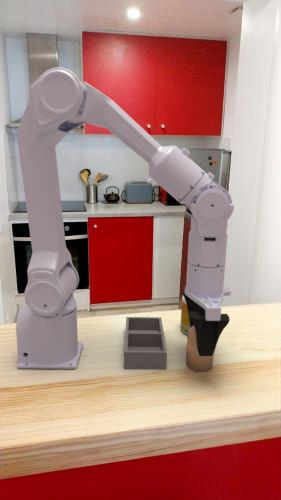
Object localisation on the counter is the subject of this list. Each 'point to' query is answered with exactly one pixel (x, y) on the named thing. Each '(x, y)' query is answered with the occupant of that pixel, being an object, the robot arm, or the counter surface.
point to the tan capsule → (196, 355)
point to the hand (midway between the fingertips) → (201, 342)
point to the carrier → (144, 343)
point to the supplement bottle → (184, 317)
